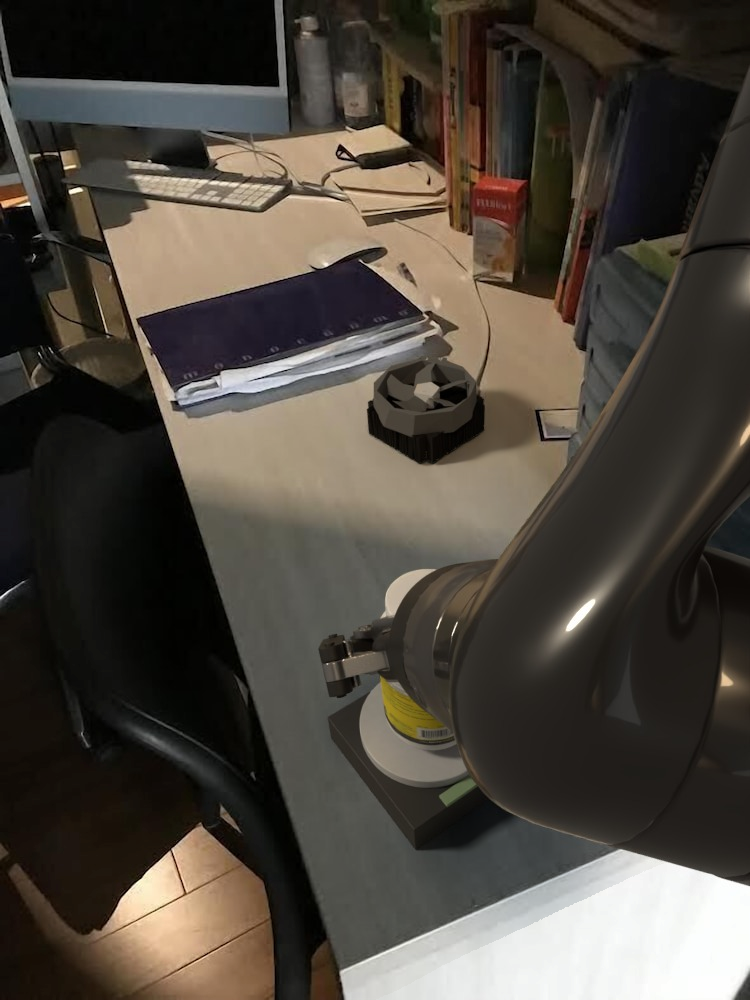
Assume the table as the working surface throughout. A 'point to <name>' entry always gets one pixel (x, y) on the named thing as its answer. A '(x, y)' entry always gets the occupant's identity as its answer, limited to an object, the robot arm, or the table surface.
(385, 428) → the cpu cooler
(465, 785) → the scale
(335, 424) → the table surface
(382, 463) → the table surface
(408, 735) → the pill bottle
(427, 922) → the table surface
